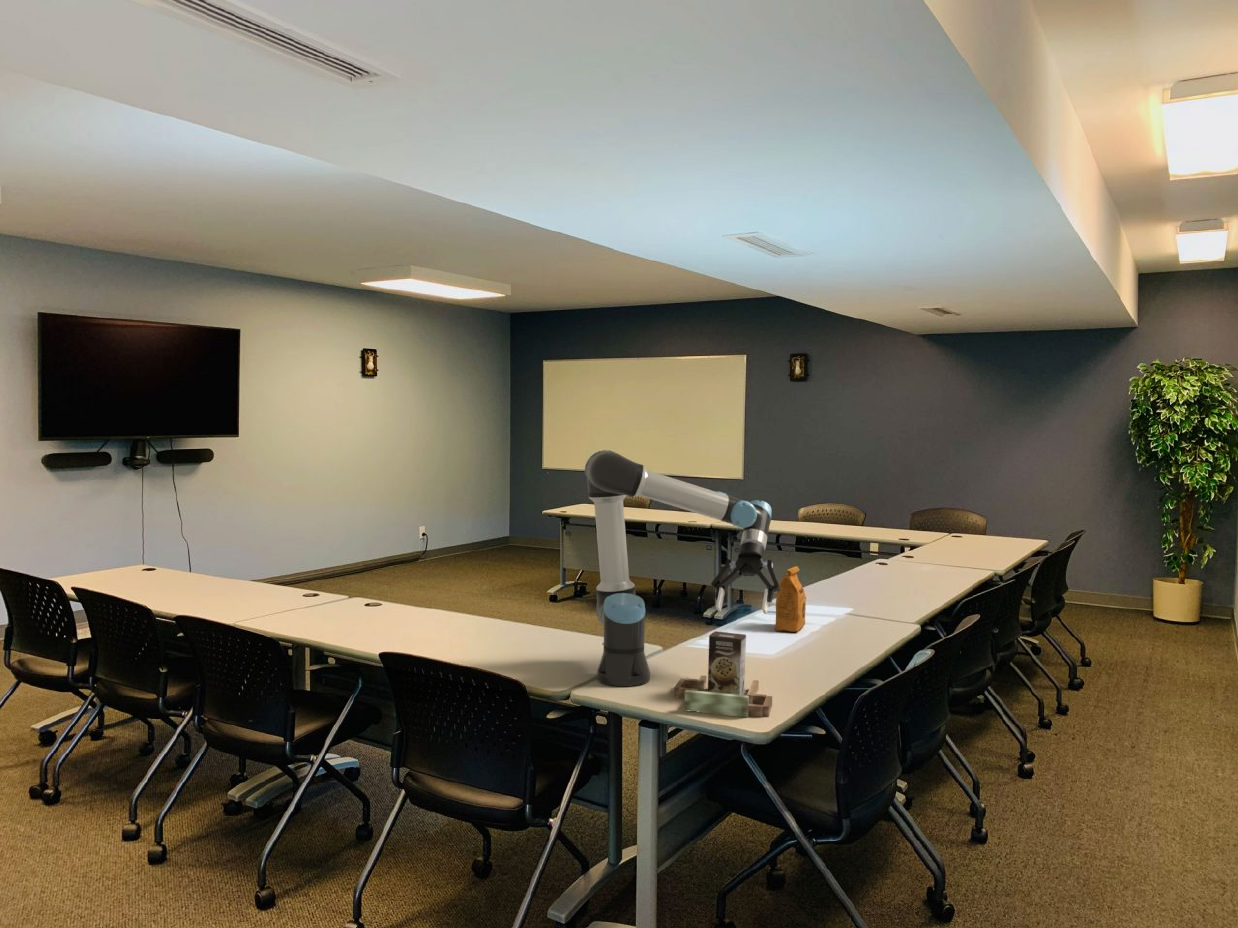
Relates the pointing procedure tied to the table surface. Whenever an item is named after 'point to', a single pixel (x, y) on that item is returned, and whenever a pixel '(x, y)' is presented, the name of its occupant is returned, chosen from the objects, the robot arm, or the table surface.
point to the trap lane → (722, 699)
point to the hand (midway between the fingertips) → (740, 610)
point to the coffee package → (790, 603)
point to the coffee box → (726, 663)
